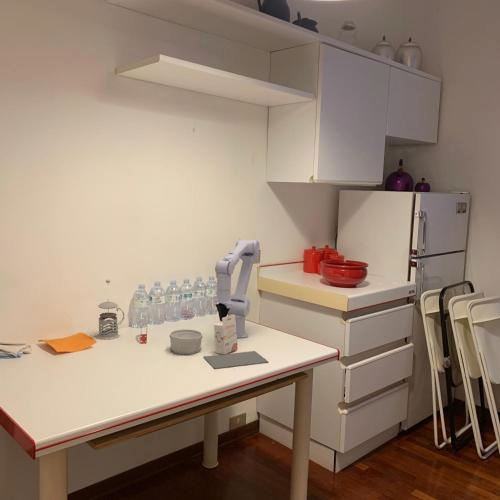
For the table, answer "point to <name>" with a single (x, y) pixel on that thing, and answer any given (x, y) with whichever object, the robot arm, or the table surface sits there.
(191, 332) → the ramekin
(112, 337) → the french press
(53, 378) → the table surface
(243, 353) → the mat
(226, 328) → the ink cartridge box
